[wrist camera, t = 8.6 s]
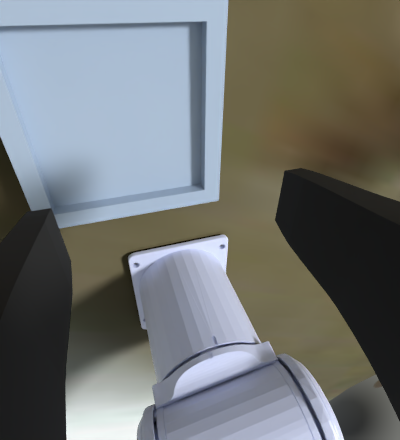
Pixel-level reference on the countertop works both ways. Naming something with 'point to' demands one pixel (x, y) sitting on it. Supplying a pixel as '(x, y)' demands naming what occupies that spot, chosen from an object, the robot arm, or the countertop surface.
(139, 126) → the dish
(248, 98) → the countertop surface
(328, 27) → the countertop surface
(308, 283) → the countertop surface
